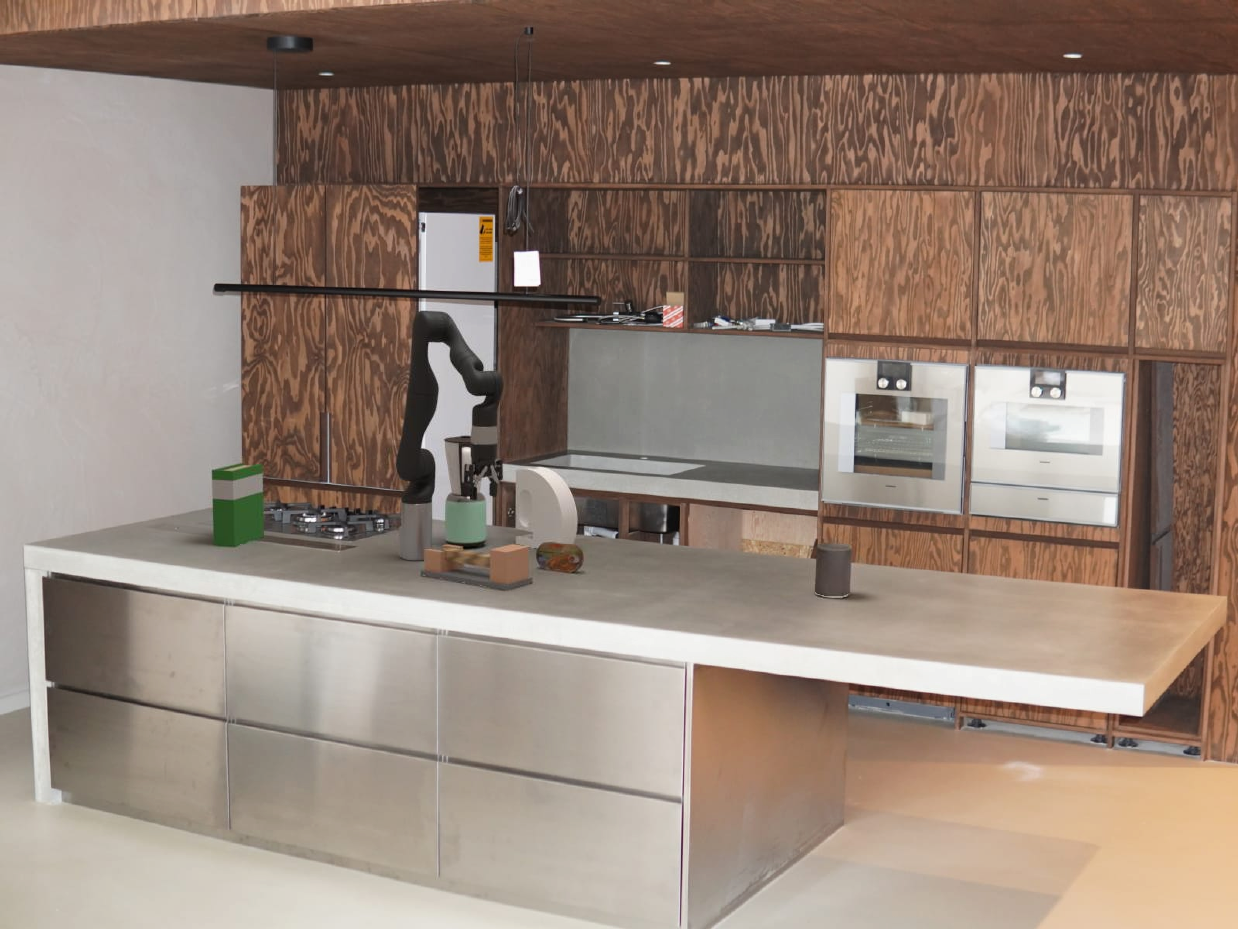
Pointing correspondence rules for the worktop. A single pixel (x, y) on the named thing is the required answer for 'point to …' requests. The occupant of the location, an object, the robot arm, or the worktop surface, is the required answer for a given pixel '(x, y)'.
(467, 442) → the blender
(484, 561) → the slat
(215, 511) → the hardback book
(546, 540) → the bracket
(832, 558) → the pillar candle
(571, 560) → the tin
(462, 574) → the end cap rail
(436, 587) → the worktop surface
